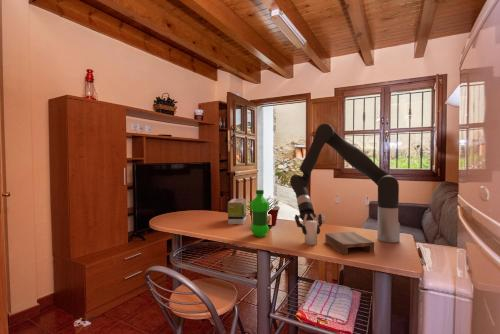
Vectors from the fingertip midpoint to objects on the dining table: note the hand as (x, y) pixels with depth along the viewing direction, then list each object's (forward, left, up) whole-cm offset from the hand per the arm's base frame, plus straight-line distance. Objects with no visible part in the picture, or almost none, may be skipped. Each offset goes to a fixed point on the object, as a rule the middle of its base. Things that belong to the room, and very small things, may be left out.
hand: (312, 233), depth 128 cm
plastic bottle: (+22, -20, -5) cm, 30 cm away
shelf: (-15, +7, -5) cm, 18 cm away
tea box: (+30, -53, -6) cm, 61 cm away
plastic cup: (+10, -40, -5) cm, 41 cm away
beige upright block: (0, -2, -5) cm, 6 cm away
